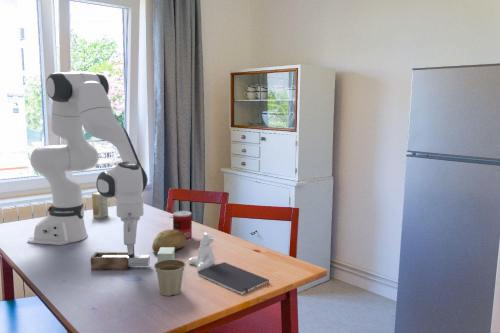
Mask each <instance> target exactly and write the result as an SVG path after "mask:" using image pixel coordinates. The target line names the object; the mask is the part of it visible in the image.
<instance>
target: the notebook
mask: <svg viewBox="0 0 500 333" xmlns="http://www.w3.org/2000/svg"><path fill="white" fill-rule="evenodd" d="M197 275H198V276H199V277H201V278H202V279H203V278H204V279H205V278H206V279H205V280H207V279H208V281H210V282H212V281H213V282H212V283H214V282H215V283H214V284H216V283H218V284H220V285H219V286H221V285H222V286H221V287H223V286H224V287H223V288H225V287H226V288H225V289H227V288H229V289H231V290H230V291H232V290H233V291H232V292H234V291H236V292H238V293H244V292H247V291H248V290H250V289H252V288H255V287H257V286H259V285H262V284H264V283H266V282H269V283H270V279H267V278H266V277H262V276H260V275H258V274H255V273H252V272H250V271H247V270H245V269H243V268H240V267H237V266H235V265H233V264H229V263H228V262H226V261H225V262H221V263H218V264H215V265H212V266H210V267H209V268H206V269H203V270H200V271H198V270H197ZM218 284H217V285H218ZM266 284H267V283H266ZM264 285H265V284H264ZM262 286H263V285H262ZM257 288H258V287H257ZM229 289H228V290H229ZM255 289H256V288H255ZM236 292H235V293H236ZM248 292H249V291H248ZM248 292H247V293H248ZM238 293H237V294H238ZM244 294H245V293H244Z"/></svg>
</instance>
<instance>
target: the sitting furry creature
mask: <svg viewBox="0 0 500 333" xmlns="http://www.w3.org/2000/svg"><path fill="white" fill-rule="evenodd" d="M213 242H214V238H213V236H212V234H210V233H208V232H204V233H202V236H201V238H200V242H199V244H200V245H199V248H198V249H197V250H198V254H197V256H191V257H189V258H188V264H189V265H195V266H196V271H197V272H198V271H200V270H203V269H206V268H209V267H212V266H214V264H215V262H216V260H217V258H216V255H215V254H214V252H213V249H212V247H211V244H212V243H213Z"/></svg>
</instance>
